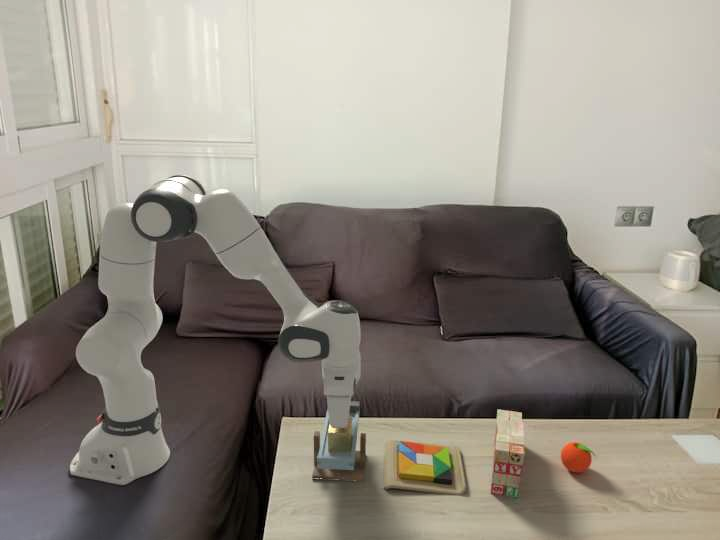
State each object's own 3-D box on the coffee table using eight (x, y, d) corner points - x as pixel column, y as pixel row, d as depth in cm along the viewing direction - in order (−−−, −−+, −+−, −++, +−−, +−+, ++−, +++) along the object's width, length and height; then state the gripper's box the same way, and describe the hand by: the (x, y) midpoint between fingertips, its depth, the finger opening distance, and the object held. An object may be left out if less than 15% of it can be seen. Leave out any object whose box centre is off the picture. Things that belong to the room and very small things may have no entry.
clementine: (595, 467, 138) (600, 442, 136) (592, 484, 132) (596, 458, 130) (561, 456, 142) (565, 432, 139) (556, 473, 136) (560, 447, 134)
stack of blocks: (494, 439, 148) (498, 398, 144) (519, 443, 147) (524, 401, 143) (490, 494, 129) (495, 448, 125) (518, 499, 127) (524, 453, 123)
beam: (328, 411, 145) (328, 400, 144) (359, 412, 145) (359, 401, 143) (317, 468, 124) (316, 456, 123) (353, 470, 124) (353, 458, 123)
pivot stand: (317, 452, 142) (316, 421, 139) (366, 454, 141) (366, 423, 139) (311, 479, 133) (311, 446, 130) (364, 481, 132) (364, 449, 129)
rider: (331, 434, 134) (331, 416, 132) (352, 435, 133) (352, 417, 132) (328, 451, 128) (327, 432, 126) (350, 452, 128) (350, 433, 126)
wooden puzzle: (466, 497, 128) (467, 484, 127) (382, 493, 129) (383, 480, 128) (458, 449, 145) (459, 437, 144) (384, 445, 146) (384, 434, 145)
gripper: (331, 348, 139) (332, 397, 144) (323, 392, 120) (324, 448, 124) (357, 349, 139) (357, 398, 144) (352, 393, 120) (353, 448, 124)
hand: (342, 421), depth 134 cm, fingers closed
